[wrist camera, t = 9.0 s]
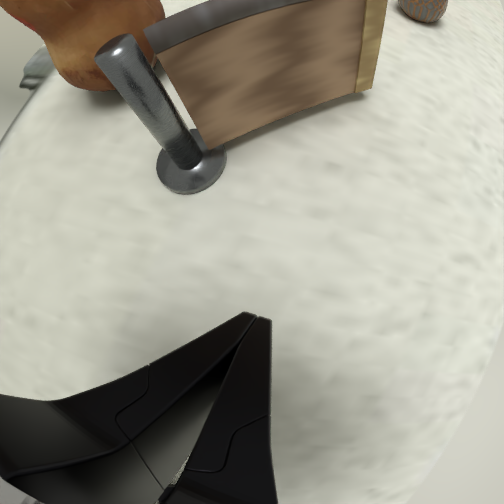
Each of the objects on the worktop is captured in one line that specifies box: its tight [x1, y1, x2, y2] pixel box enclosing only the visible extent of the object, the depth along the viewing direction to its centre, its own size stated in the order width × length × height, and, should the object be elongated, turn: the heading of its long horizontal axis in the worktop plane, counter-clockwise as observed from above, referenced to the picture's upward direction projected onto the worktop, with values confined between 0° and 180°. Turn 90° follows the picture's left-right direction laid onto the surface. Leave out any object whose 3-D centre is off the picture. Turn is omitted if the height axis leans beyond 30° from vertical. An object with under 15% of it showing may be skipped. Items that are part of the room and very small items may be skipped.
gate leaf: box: [143, 0, 388, 150], centre depth 17 cm, size 15×2×12 cm, turn 113°
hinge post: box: [94, 33, 226, 194], centre depth 18 cm, size 6×6×14 cm
